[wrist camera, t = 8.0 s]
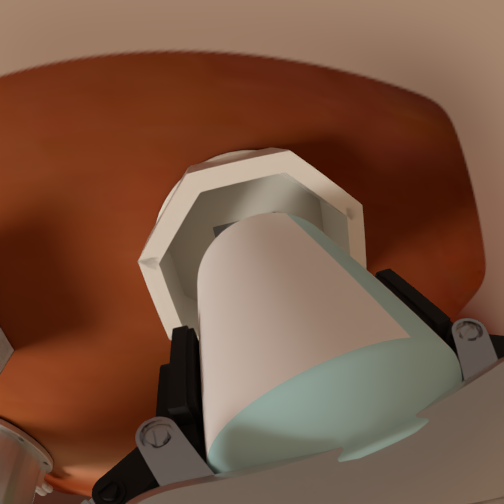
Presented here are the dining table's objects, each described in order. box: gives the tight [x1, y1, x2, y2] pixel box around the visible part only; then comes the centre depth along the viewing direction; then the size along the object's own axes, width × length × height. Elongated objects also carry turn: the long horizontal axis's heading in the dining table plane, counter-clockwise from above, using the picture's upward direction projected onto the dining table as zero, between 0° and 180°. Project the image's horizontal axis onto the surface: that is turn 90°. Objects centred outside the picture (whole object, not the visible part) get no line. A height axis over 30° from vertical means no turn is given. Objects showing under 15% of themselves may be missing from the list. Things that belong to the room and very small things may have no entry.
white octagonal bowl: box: [138, 147, 366, 340], centre depth 18 cm, size 12×12×5 cm
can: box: [197, 213, 462, 474], centre depth 10 cm, size 7×7×12 cm
